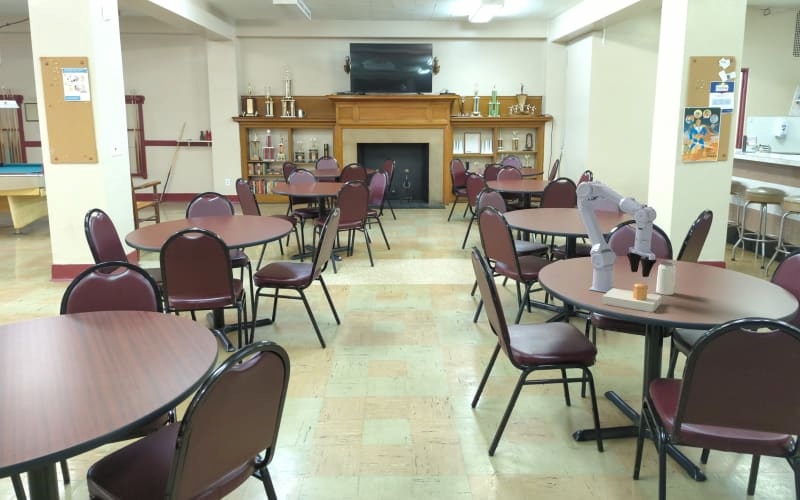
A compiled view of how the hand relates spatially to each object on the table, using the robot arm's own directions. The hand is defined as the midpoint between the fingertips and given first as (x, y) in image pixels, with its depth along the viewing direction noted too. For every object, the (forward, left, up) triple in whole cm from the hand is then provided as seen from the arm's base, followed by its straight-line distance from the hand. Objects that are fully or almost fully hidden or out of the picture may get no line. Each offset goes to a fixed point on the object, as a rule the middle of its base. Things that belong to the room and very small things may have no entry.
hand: (639, 274), depth 240 cm
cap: (+11, +3, -6) cm, 13 cm away
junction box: (+9, 0, -9) cm, 13 cm away
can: (-14, +7, -10) cm, 18 cm away
